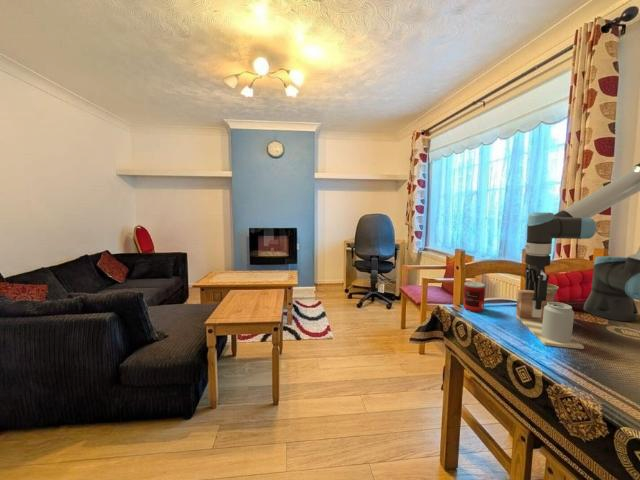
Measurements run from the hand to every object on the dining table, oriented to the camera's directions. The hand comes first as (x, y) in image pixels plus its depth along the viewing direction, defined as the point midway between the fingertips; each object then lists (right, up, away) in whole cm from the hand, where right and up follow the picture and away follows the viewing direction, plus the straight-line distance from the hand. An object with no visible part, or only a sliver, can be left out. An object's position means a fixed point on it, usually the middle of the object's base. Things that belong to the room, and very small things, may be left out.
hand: (533, 314), depth 109 cm
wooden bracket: (-3, -3, -9) cm, 10 cm away
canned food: (-16, -1, +12) cm, 21 cm away
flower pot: (+16, 0, +15) cm, 22 cm away
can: (-5, -4, -16) cm, 17 cm away
